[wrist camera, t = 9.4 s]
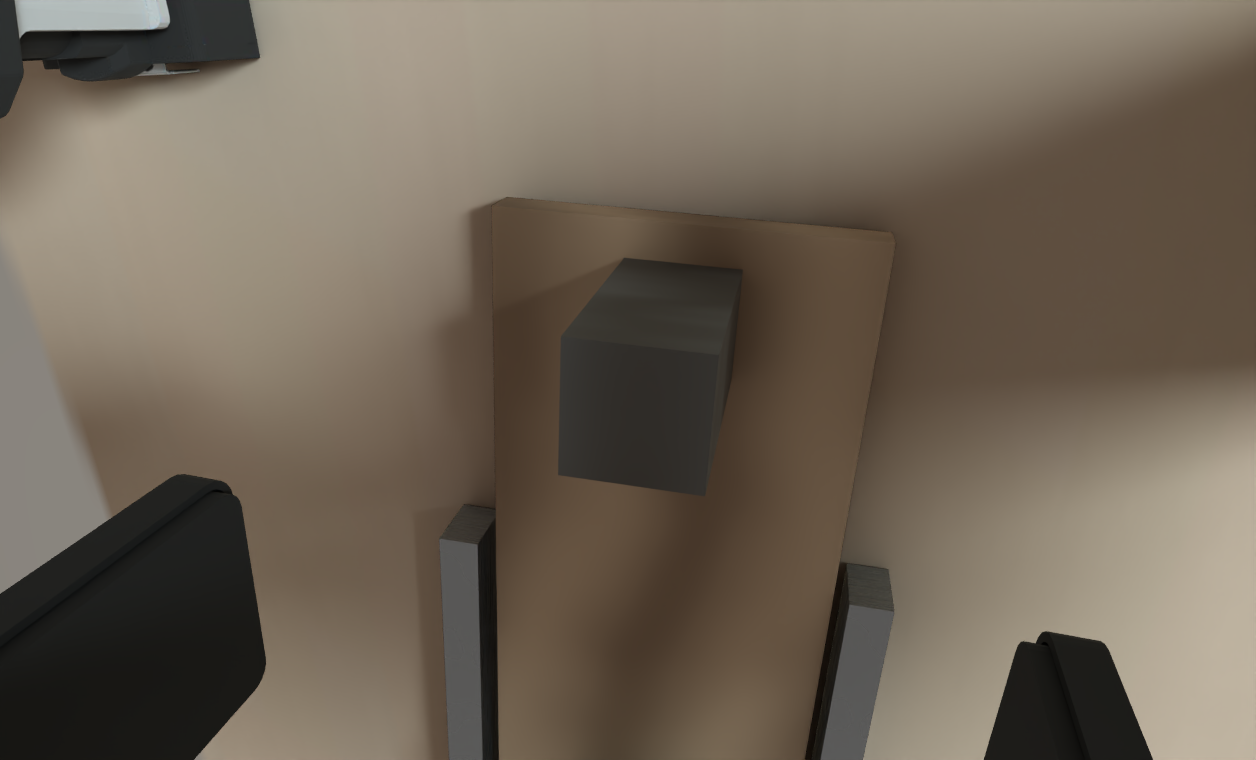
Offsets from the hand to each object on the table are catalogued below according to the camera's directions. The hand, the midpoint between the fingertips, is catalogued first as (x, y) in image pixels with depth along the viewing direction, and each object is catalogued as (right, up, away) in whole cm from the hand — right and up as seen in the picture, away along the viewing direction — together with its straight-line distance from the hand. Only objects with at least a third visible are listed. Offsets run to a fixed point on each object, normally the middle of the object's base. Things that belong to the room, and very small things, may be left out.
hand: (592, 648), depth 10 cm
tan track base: (+1, -6, +18) cm, 19 cm away
